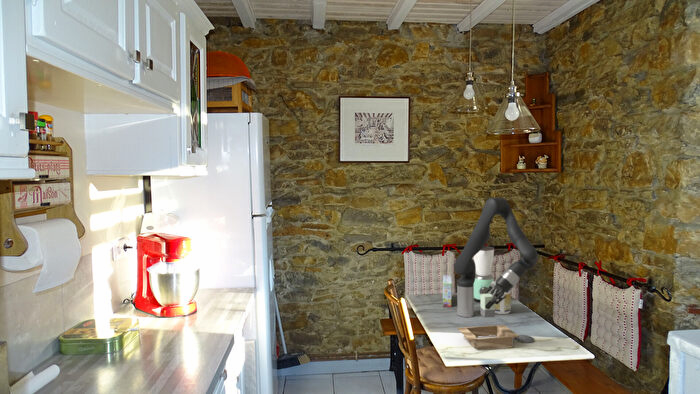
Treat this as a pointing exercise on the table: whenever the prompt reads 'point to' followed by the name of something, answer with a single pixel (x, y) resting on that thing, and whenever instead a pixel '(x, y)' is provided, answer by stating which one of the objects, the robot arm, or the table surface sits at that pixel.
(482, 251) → the mint green blender
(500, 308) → the supplement tub
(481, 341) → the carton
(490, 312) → the box
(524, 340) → the slate mat
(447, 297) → the snack box
